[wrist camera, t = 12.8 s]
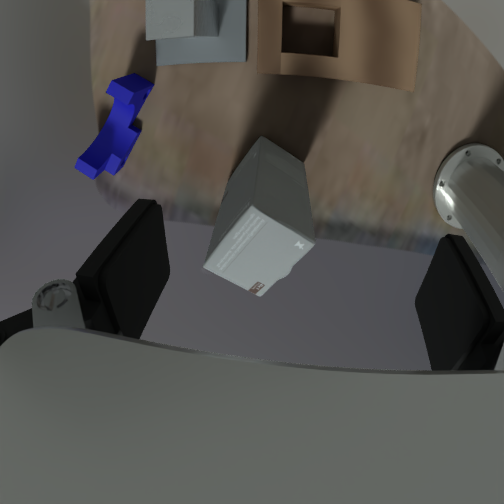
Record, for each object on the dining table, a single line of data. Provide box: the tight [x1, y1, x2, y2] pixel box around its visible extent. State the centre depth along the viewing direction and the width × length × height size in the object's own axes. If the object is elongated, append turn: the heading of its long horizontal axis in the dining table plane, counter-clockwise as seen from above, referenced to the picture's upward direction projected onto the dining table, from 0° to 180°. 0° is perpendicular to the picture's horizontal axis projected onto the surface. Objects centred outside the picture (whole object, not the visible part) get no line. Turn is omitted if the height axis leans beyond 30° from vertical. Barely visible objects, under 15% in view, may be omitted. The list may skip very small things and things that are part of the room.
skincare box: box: [203, 136, 316, 296], centre depth 33 cm, size 8×7×16 cm
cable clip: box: [75, 73, 154, 180], centre depth 34 cm, size 12×4×6 cm, turn 144°
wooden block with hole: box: [257, 0, 422, 92], centre depth 26 cm, size 16×10×4 cm, turn 89°
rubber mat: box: [156, 0, 247, 66], centre depth 28 cm, size 10×10×1 cm
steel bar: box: [146, 0, 219, 40], centre depth 24 cm, size 4×4×10 cm
